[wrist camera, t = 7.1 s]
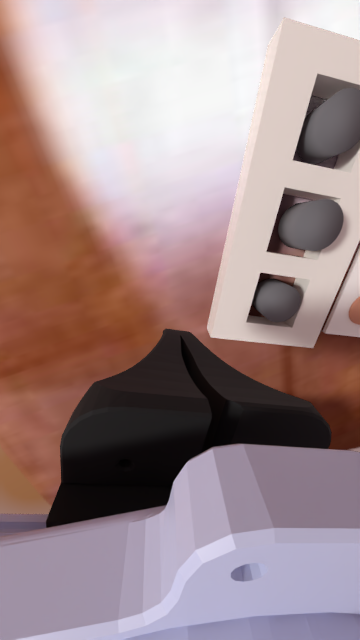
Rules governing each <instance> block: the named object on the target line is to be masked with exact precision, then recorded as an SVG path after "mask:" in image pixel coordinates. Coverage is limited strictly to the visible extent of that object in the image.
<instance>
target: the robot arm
mask: <svg viewBox="0 0 360 640" xmlns="http://www.w3.org/2000/svg"><path fill="white" fill-rule="evenodd" d="M330 442H331V430H330V427H329V424H328V423H327V422H326V421H325V420H324V418H323V417H322V416H321V415H320V413H319V412H318V411H317V410H316V409H315V407H314V406H313V405H312V404H311V403H310V402H308V401H306V400H303V399H300V398H297V397H294V396H291V395H288V394H286V393H283V392H280V391H278V390H275V389H273V388H271V387H268V386H266V385H264V384H262V383H259V382H257V381H255V380H253V379H251V378H250V377H248V376H246V375H244V374H242V373H240V372H239V371H237V370H235V369H234V368H232V367H231V366H229V365H228V364H226V363H225V362H224V361H222V360H221V359H220V358H218V357H217V356H216V355H215V354H213V353H212V352H211V351H210V350H209V349H208V348H206V347H205V346H204V345H203V344H202V343H201V342H200V341H199V340H198V339H197V338H196V337H195V336H194V335H193V334H192V333H190V332H187V331H179V330H172V329H165V330H163V335H162V337H161V339H160V340H159V342H158V343H157V345H156V346H155V347H154V348H153V350H152V351H151V352H150V353H149V354H148V355H147V356H146V357H145V358H144V359H142V360H141V361H140V362H139V363H137V364H136V365H134V366H133V367H131V368H130V369H128V370H126V371H124V372H122V373H119V374H117V375H115V376H112V377H109V378H106V379H103V380H100V381H97V382H94V383H93V385H92V386H91V387H90V388H89V390H88V391H87V392H86V394H85V395H84V396H83V398H82V399H81V401H80V402H79V404H78V405H77V407H76V409H75V410H74V412H73V414H72V416H71V418H70V420H69V422H68V424H67V426H66V428H65V430H64V433H63V435H62V438H61V444H60V457H61V484H60V487H59V490H58V492H57V495H56V497H55V500H54V502H53V505H52V507H51V510H50V512H49V514H44V515H43V514H0V640H360V452H356V451H351V450H334V449H328V447H329V445H330Z"/></svg>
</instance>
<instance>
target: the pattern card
mask: <svg viewBox="0 0 360 640" xmlns="http://www.w3.org/2000/svg"><path fill="white" fill-rule="evenodd" d="M322 332H324V333H326V334H335V335H344V336H353V337H360V246H359V248H358V251H357V253H356V255H355V258H354V260H353V262H352V265H351V267H350V269H349V271H348V274H347V276H346V278H345V281H344V283H343V285H342V288H341V290H340V292H339V294H338V297H337V299H336V301H335V304H334V306H333V308H332V311H331V313H330V315H329V317H328V320H327V322H326V324H325V327H324V329H323V331H322Z"/></svg>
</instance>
